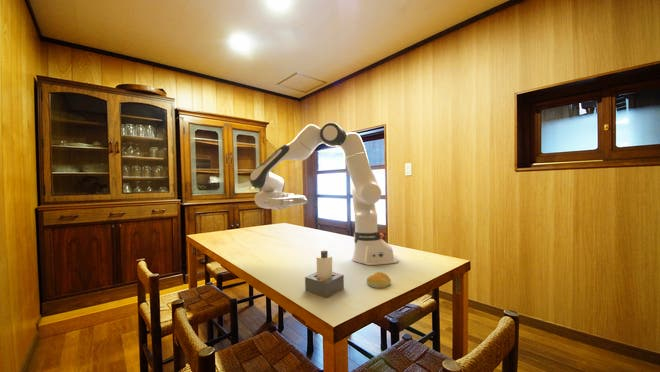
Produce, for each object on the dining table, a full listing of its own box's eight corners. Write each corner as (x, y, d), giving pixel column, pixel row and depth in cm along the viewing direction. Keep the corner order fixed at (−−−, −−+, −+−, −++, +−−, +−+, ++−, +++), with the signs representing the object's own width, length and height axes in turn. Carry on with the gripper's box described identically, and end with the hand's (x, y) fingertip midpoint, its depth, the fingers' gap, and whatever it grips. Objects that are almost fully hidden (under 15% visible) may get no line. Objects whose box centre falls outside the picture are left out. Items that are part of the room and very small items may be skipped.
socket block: (323, 282, 104) (322, 268, 103) (343, 288, 97) (343, 274, 97) (305, 290, 96) (305, 276, 96) (326, 298, 90) (326, 282, 89)
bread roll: (363, 284, 101) (362, 274, 101) (376, 278, 107) (376, 268, 107) (381, 291, 95) (381, 280, 95) (394, 283, 101) (394, 273, 101)
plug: (324, 283, 99) (323, 249, 99) (332, 286, 97) (331, 251, 97) (317, 287, 96) (316, 251, 96) (325, 289, 94) (325, 253, 94)
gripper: (261, 195, 121) (281, 196, 112) (293, 193, 137) (313, 193, 128) (261, 209, 121) (282, 210, 113) (294, 205, 137) (314, 206, 129)
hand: (299, 201), depth 121 cm, fingers open, 8 cm apart
